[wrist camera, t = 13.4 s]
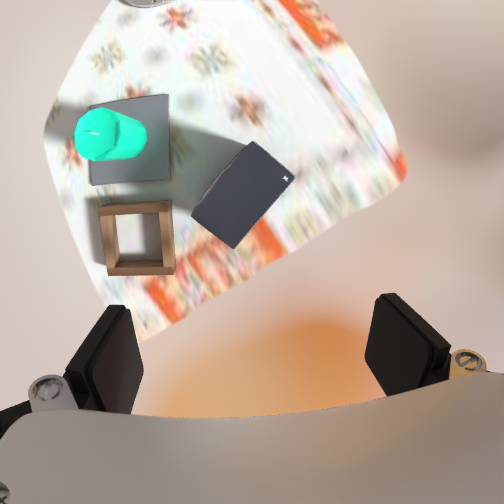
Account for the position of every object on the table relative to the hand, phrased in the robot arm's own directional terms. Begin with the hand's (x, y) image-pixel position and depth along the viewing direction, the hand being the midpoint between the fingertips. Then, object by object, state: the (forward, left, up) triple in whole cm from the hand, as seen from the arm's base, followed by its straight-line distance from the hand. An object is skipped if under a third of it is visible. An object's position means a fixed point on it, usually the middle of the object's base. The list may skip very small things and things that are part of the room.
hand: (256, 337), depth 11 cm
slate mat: (-10, -15, -32) cm, 37 cm away
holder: (+4, -14, -32) cm, 35 cm away
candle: (-10, -15, -32) cm, 37 cm away
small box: (-3, +1, -33) cm, 33 cm away
